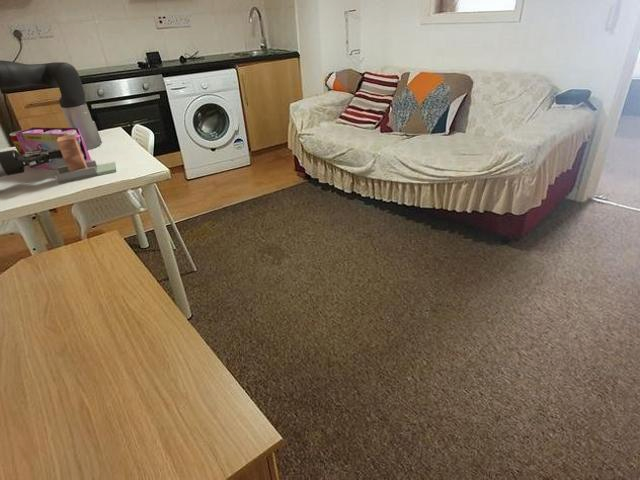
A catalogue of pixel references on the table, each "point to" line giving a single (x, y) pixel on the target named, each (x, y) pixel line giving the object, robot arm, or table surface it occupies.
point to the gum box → (49, 143)
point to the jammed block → (71, 152)
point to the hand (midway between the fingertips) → (63, 153)
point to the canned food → (17, 143)
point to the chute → (84, 171)
